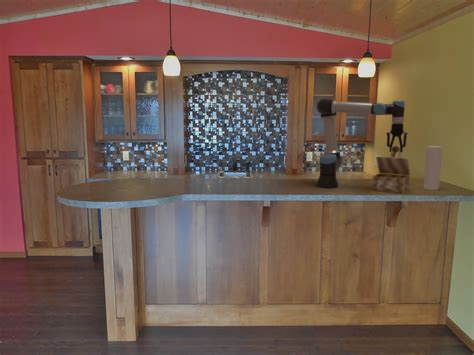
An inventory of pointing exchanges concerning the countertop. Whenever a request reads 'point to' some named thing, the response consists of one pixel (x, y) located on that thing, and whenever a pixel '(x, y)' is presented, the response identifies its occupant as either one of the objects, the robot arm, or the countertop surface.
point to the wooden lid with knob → (393, 164)
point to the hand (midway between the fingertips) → (395, 156)
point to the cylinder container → (432, 167)
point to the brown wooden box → (391, 183)
